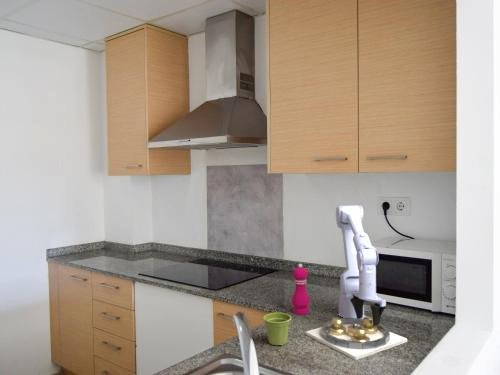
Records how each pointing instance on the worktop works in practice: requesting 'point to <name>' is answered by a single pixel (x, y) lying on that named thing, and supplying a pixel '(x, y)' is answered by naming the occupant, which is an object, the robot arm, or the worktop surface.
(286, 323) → the plant pot
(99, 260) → the worktop surface
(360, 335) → the sun and planets
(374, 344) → the ring gear
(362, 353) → the board
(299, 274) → the pepper mill
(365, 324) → the gear
